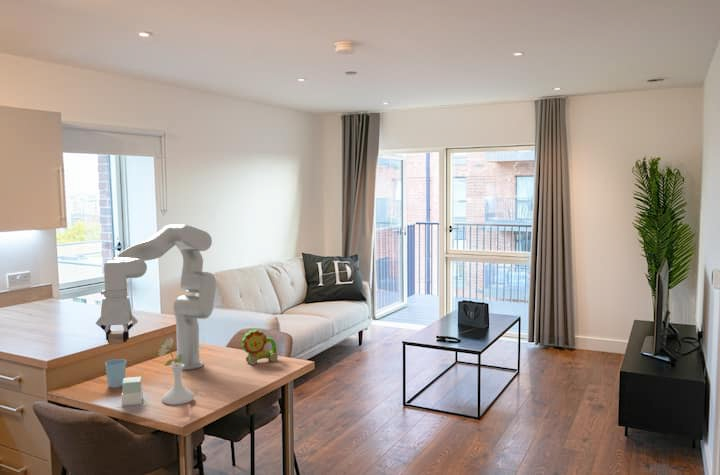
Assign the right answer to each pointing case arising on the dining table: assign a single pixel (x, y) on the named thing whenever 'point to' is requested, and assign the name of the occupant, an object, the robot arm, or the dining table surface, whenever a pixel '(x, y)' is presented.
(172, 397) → the flower in vase
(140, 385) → the sage brick
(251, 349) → the toy lion
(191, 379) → the dining table surface
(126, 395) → the cream brick
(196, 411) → the dining table surface
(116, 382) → the cup
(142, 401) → the build plate
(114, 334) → the walnut brick
